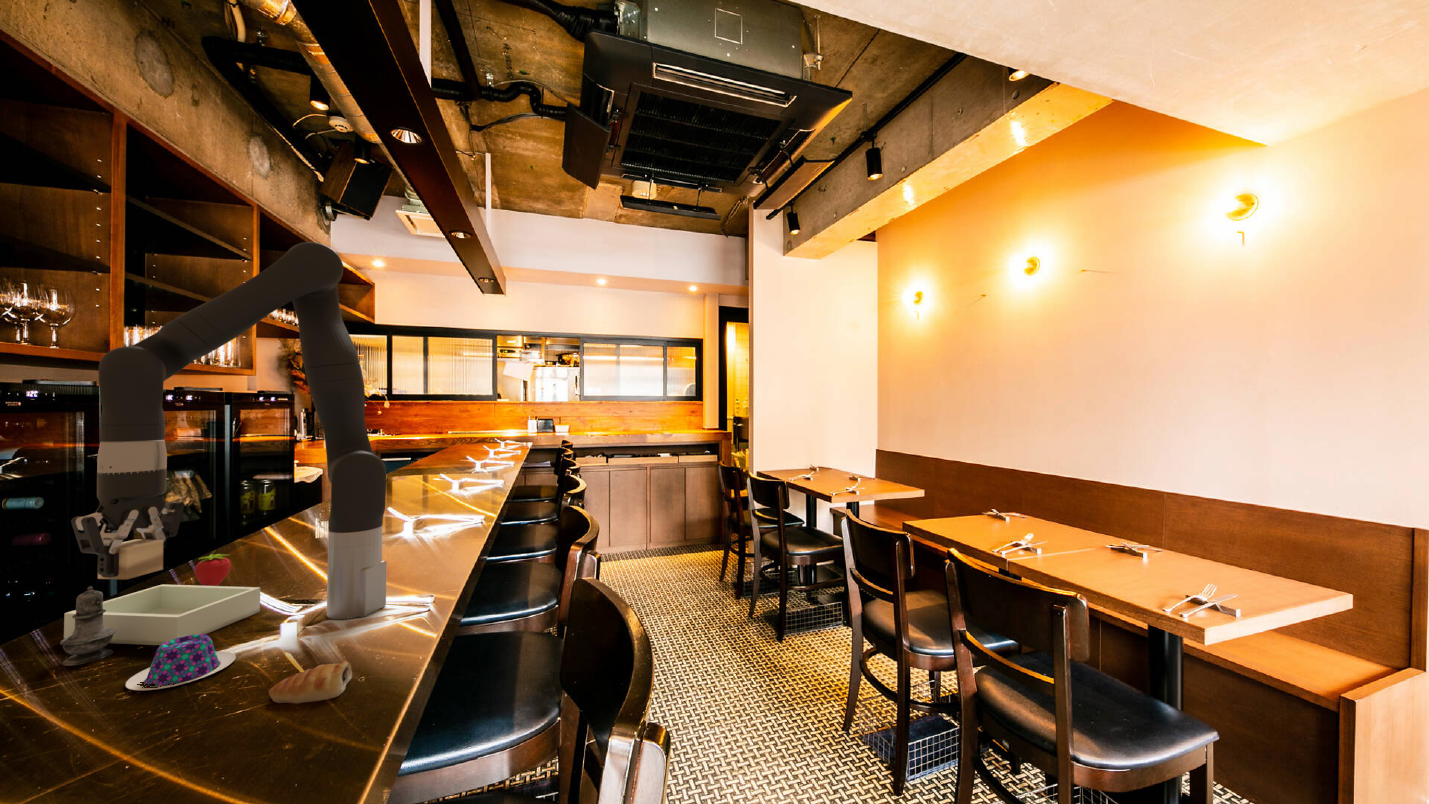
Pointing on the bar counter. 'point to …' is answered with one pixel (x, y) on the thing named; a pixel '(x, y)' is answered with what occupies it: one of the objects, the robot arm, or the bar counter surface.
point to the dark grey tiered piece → (88, 631)
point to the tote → (173, 612)
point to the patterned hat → (181, 662)
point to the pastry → (313, 684)
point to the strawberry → (212, 569)
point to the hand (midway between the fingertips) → (131, 570)
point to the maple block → (139, 558)
